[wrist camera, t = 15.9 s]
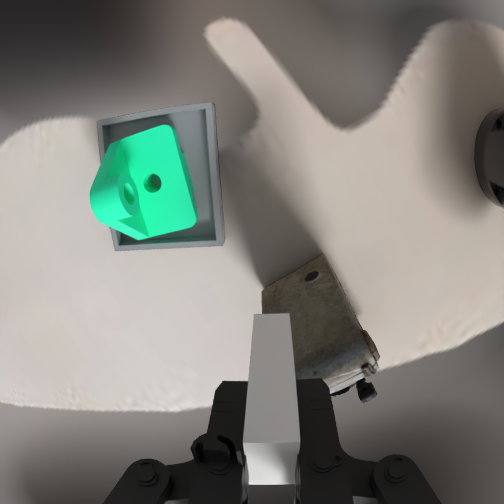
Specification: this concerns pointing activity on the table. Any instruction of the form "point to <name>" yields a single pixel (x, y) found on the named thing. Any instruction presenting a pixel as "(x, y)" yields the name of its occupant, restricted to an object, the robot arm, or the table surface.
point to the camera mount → (145, 185)
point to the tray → (199, 164)
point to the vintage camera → (324, 329)
